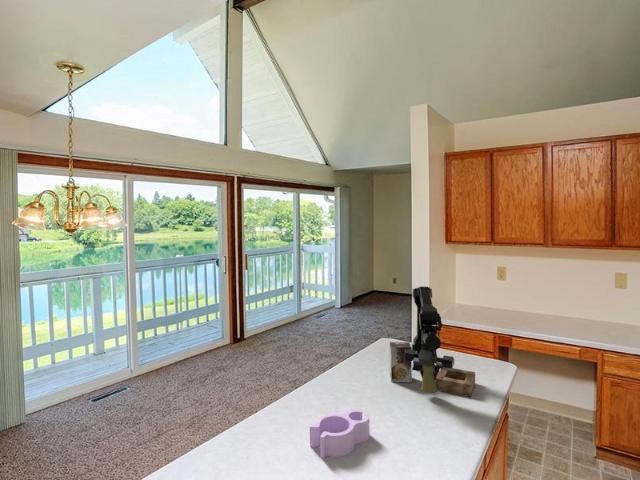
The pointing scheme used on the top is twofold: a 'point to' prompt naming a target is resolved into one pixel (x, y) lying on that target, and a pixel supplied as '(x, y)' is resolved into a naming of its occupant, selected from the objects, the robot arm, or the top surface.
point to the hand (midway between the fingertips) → (428, 379)
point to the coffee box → (400, 362)
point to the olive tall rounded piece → (428, 379)
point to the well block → (456, 381)
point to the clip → (339, 433)
